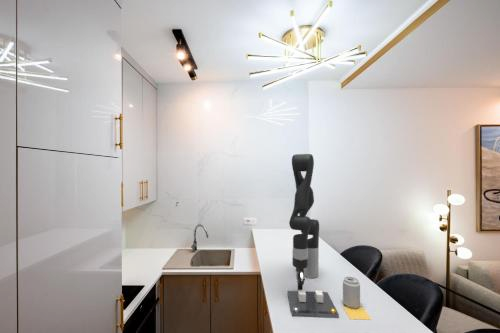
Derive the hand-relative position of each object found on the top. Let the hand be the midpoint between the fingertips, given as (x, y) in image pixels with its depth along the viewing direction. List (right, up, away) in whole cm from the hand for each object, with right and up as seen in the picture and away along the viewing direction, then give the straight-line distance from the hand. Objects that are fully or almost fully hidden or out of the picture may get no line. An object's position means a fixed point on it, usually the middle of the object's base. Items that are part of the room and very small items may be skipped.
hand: (300, 291), depth 118 cm
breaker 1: (0, -1, -5) cm, 5 cm away
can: (+23, -3, -6) cm, 24 cm away
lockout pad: (+22, -3, -12) cm, 26 cm away
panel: (+4, -3, -6) cm, 8 cm away
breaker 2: (+8, -1, -6) cm, 10 cm away
